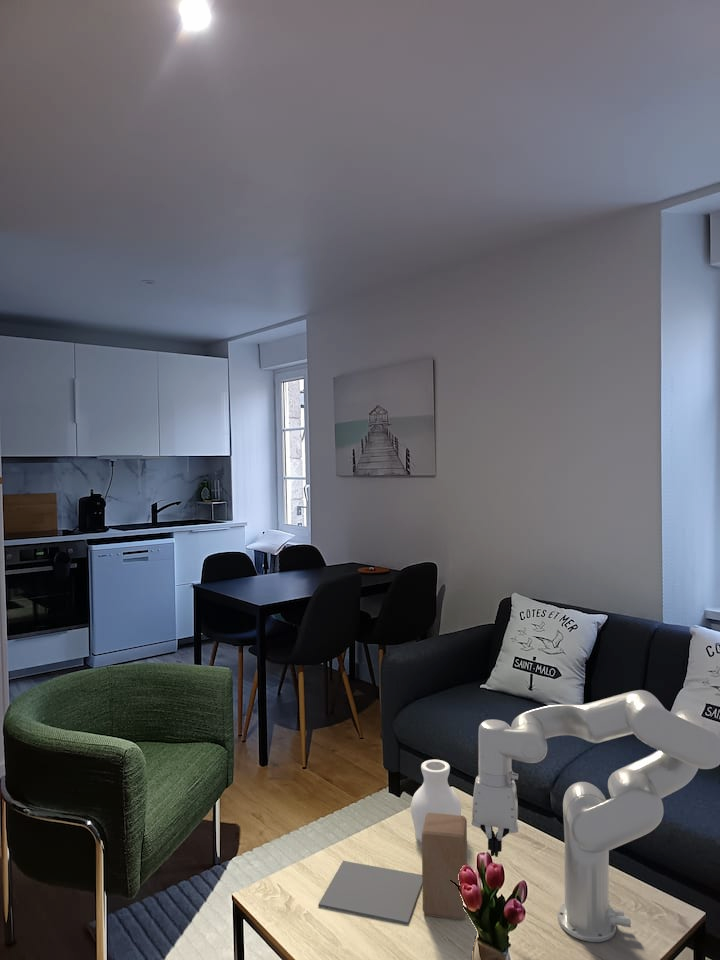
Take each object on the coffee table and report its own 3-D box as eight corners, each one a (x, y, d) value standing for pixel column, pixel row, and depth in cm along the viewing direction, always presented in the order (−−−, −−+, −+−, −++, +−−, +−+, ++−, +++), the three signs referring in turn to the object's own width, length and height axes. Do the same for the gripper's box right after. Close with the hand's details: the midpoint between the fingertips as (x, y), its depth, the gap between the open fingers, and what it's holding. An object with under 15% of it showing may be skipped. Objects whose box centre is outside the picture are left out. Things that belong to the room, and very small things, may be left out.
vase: (402, 827, 195) (401, 759, 194) (446, 817, 200) (445, 750, 199) (425, 854, 182) (424, 781, 181) (471, 842, 187) (470, 771, 186)
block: (465, 922, 155) (464, 837, 154) (422, 917, 157) (421, 832, 156) (467, 894, 165) (466, 814, 164) (426, 889, 167) (425, 810, 166)
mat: (424, 877, 172) (424, 875, 171) (408, 924, 154) (407, 922, 154) (343, 862, 178) (343, 860, 178) (318, 906, 161) (318, 904, 161)
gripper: (529, 772, 157) (528, 849, 158) (465, 764, 162) (465, 839, 163) (527, 788, 150) (526, 868, 151) (460, 778, 155) (460, 856, 155)
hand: (494, 853), depth 157 cm, fingers closed
